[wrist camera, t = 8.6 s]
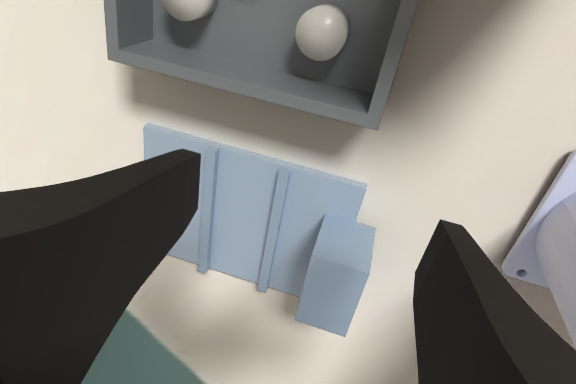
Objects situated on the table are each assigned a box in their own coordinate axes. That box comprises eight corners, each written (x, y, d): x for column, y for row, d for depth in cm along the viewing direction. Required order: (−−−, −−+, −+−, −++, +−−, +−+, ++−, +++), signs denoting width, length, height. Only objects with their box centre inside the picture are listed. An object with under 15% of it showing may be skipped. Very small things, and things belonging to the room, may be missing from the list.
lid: (388, 186, 23) (383, 237, 19) (346, 301, 28) (335, 361, 24) (152, 120, 25) (99, 153, 21) (154, 239, 30) (112, 285, 26)
